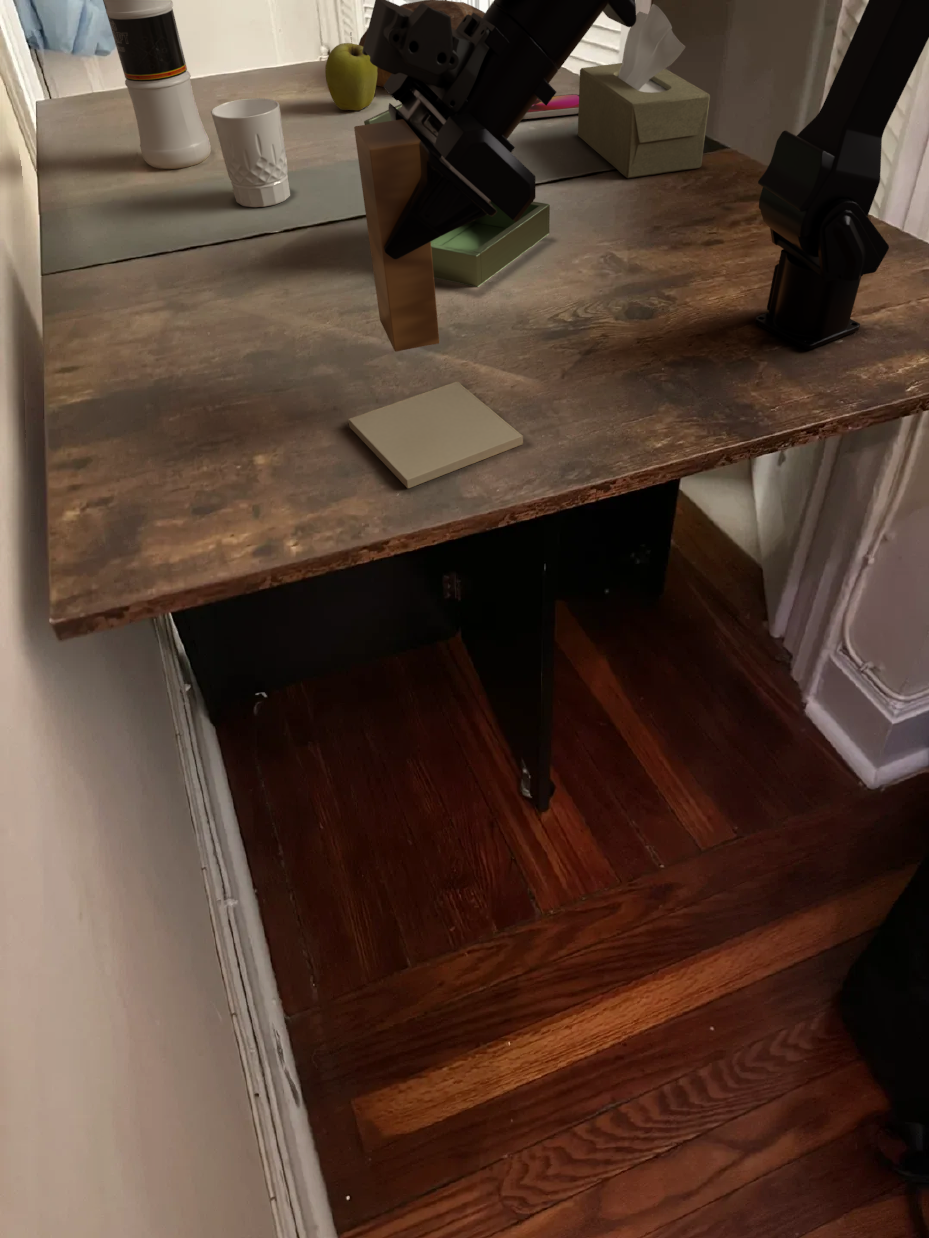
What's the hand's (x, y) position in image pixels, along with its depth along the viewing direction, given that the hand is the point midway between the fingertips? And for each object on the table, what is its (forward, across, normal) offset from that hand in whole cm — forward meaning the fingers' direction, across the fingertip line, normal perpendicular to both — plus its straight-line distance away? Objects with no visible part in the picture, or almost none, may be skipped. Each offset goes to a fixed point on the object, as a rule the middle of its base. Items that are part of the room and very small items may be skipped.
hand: (380, 239), depth 63 cm
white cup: (+13, -54, +6) cm, 56 cm away
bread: (-11, -101, +30) cm, 106 cm away
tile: (+8, +5, +10) cm, 15 cm away
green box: (0, -26, +19) cm, 32 cm away
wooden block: (+4, 0, +6) cm, 7 cm away
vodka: (+20, -74, -1) cm, 77 cm away
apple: (+1, -88, +19) cm, 89 cm away
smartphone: (-16, -72, +36) cm, 82 cm away
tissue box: (-20, -50, +40) cm, 67 cm away
